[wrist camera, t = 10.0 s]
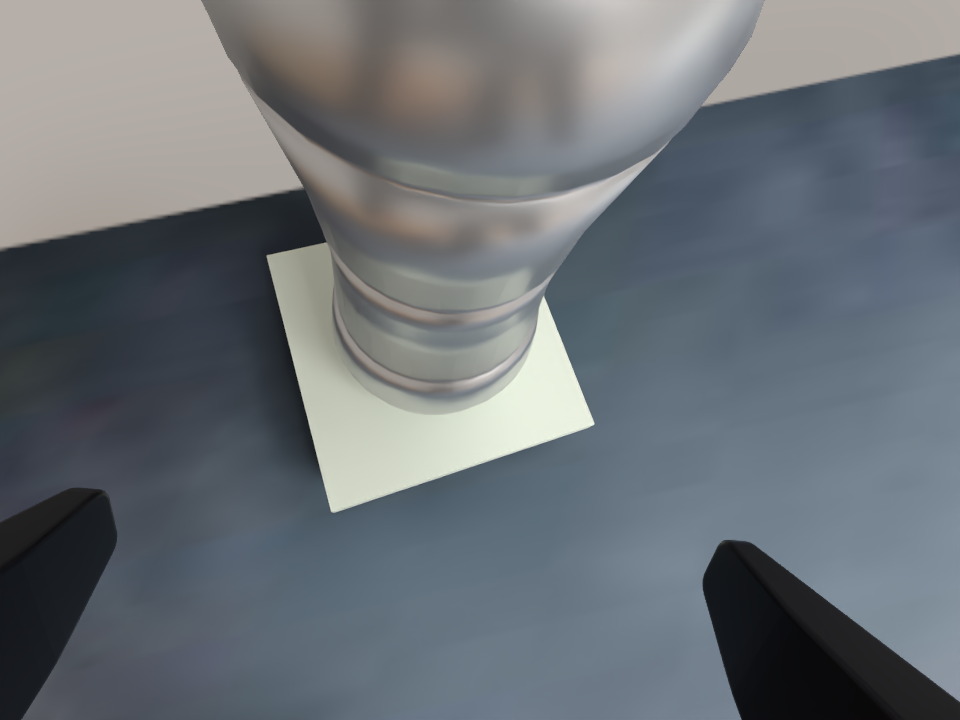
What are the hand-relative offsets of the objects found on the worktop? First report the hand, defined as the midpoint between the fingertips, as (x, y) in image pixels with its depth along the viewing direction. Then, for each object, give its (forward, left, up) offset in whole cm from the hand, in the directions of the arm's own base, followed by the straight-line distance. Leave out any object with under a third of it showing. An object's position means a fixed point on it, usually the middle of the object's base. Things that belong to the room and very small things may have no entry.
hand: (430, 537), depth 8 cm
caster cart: (+6, +4, -13) cm, 15 cm away
